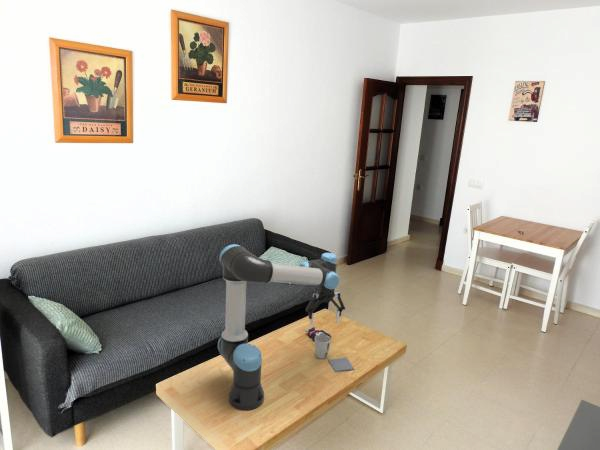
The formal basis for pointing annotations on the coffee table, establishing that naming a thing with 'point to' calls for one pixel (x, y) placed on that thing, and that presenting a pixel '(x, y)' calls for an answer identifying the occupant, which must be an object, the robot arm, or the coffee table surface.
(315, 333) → the figurine
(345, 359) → the coaster
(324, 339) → the cup
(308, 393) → the coffee table surface
